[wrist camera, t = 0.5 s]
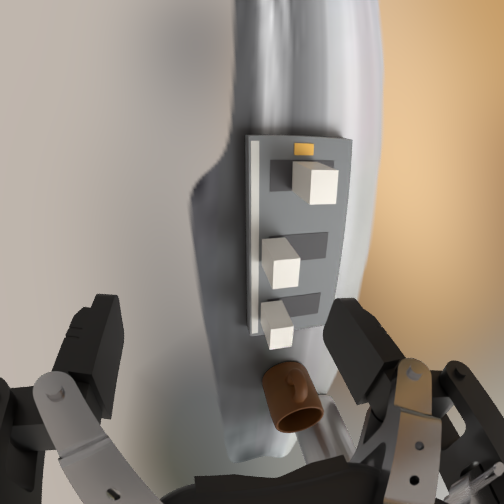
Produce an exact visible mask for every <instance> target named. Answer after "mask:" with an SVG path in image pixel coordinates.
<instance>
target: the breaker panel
mask: <svg viewBox="0 0 504 504" xmlns="http://www.w3.org/2000/svg"><path fill="white" fill-rule="evenodd" d="M351 156H352V140H351V139H346V138H336V137H321V136H302V135H245V170H246V262H247V327H248V330H249V334H250V336H258V335H265V334H264V331H263V328H262V325H261V303H263V302H271V301H279V300H282V302H283V304H284V306H285V308H286V310H287V313H288V315H289V317H290V319H291V321H292V323H293V325H294V330H299V329H305V328H311V327H317V326H323V325H325V323H326V321H327V318H328V315H329V312H330V309H331V306H332V304H333V301H334V298H335V292H336V286H337V280H338V274H339V267H340V261H341V254H342V247H343V239H344V231H345V223H346V214H347V205H348V195H349V183H350V171H351ZM293 161H307V162H319V163H321V164H324V165H326V166H329V167H331V168H334V169H336V170H339V172H338V185H337V198H336V204H315V205H309V204H308V203H307V202H306V201H304V200H303V199H302V198H300V197H299V196H298V195H297V194H295V193H294V192H293V191H292V173H293ZM284 237H285V238H286V239H287V241H288V242H289V243H290V245H291V246H292V247H293V249H294V250H295V251H296V253H297V254H298V256H299V257H300V270H299V281H298V286H297V287H288V288H280V289H272V287H271V285H270V282H269V280H268V278H267V276H266V273H265V271H264V269H263V267H262V239H271V238H284Z"/></svg>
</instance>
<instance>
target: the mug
mask: <svg viewBox="0 0 504 504" xmlns="http://www.w3.org/2000/svg"><path fill="white" fill-rule="evenodd" d="M262 384H263V389H264V392H265V396H266V400H267V404H268V407H269V411H270V414H271V417H272V420H273V422H274V425H275V427H276V429H277V430H278V431H280V432H283V433H293V432H299V431H302V430H305V429H307V428H310V427H311V426H313V425H315V424H316V423H318V422H319V421H320V420H321V419H322V417H323V415H324V409H323V407H322V403H321V401H320V398H319V396H318V394H317V392H316V389H315V387H314V385H313V383H312V380H311V378H310V376H309V374H308V372H307V370H306V368H305V367H304V366H303V365H302V364H300V363H298V362H284V363H280V364H278V365H275V366H273V367H272V368H270V369H269V370H268V371H267V372H266V373H265V375H264V377H263V380H262Z"/></svg>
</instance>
